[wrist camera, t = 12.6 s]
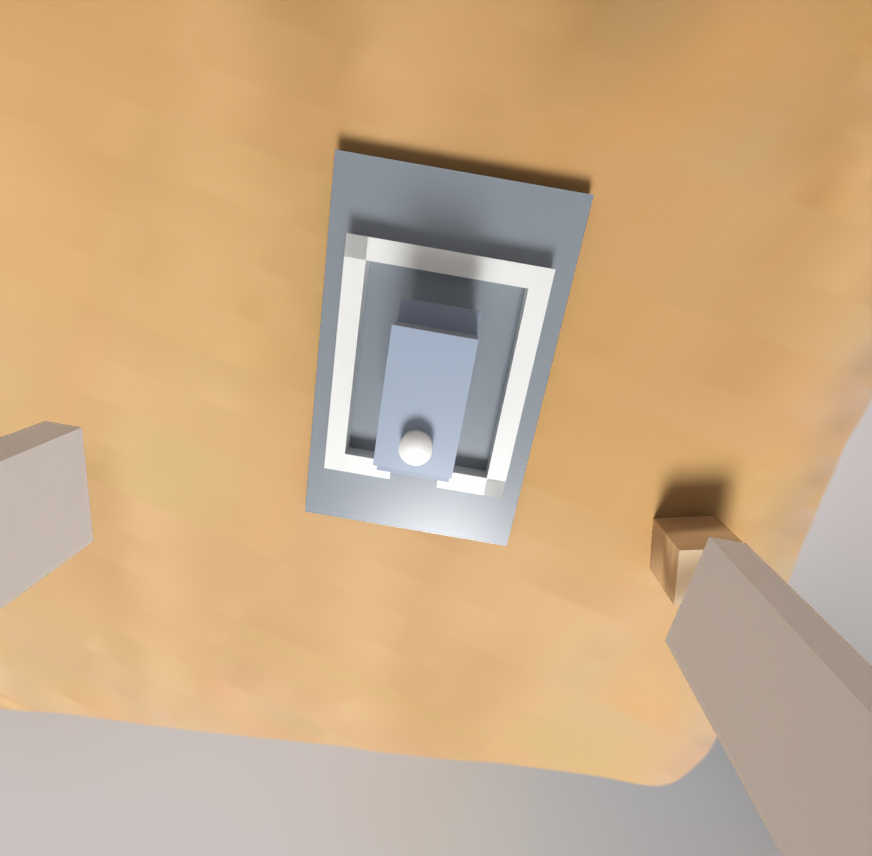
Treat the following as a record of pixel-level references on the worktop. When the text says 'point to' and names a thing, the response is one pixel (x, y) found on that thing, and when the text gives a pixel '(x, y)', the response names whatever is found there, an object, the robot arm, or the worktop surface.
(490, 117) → the worktop surface
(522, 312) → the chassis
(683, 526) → the oak block
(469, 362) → the servo block
